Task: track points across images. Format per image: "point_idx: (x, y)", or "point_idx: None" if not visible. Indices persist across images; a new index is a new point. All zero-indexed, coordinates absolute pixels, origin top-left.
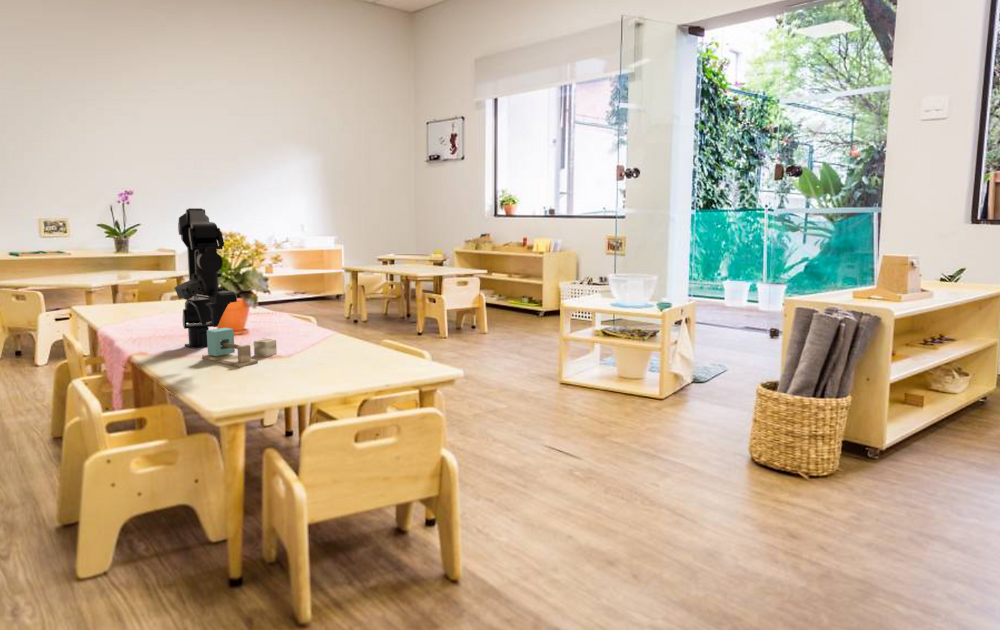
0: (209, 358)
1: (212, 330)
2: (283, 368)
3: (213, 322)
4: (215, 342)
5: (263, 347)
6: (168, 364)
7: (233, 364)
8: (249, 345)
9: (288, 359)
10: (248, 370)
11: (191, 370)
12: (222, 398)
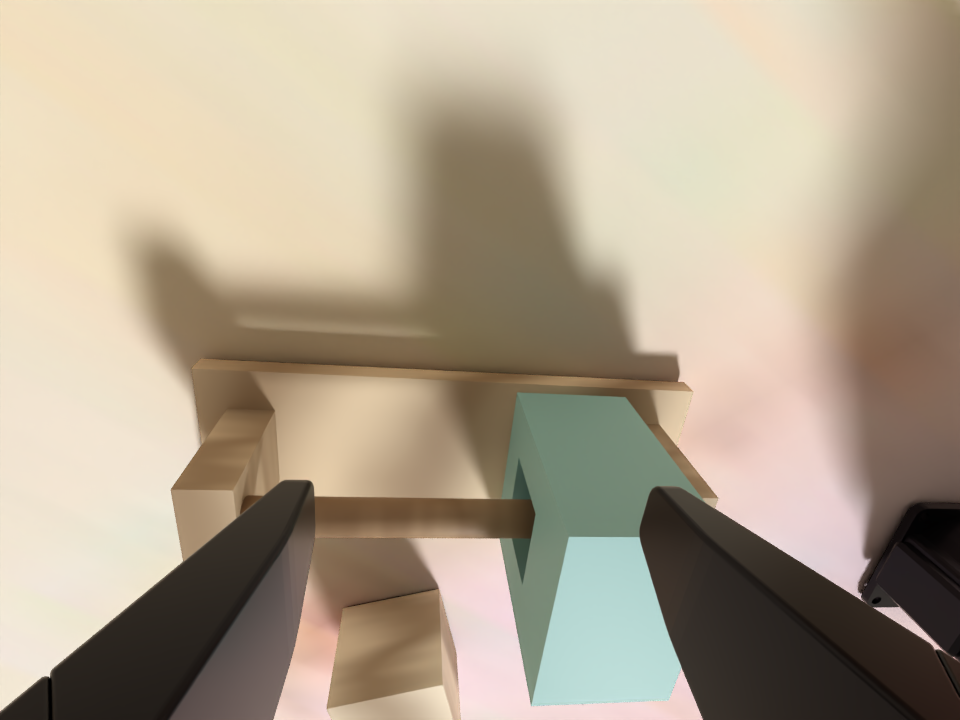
0: (598, 381)
1: None
2: None
3: (224, 530)
4: (540, 461)
5: (358, 662)
6: (778, 106)
7: (278, 366)
8: None
9: None
10: (60, 343)
11: (427, 67)
12: None
